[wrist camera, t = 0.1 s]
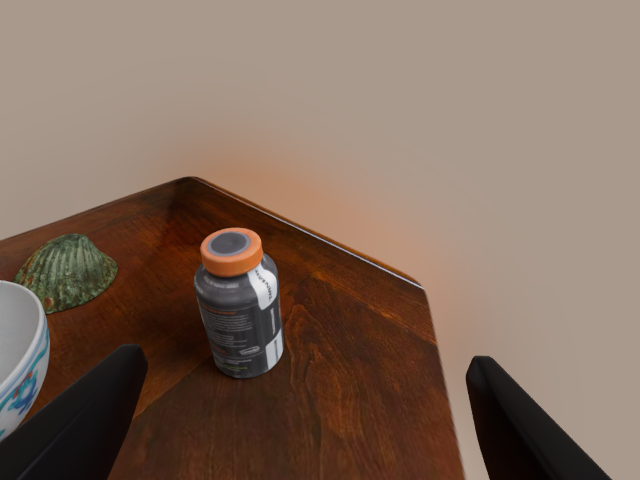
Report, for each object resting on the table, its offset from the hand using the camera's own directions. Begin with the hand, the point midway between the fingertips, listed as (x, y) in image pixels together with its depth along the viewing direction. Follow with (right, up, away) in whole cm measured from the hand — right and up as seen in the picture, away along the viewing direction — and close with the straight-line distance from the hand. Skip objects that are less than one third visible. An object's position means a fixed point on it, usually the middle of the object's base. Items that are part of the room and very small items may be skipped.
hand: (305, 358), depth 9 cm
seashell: (-26, -1, +27) cm, 38 cm away
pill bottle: (-6, -6, +20) cm, 22 cm away
